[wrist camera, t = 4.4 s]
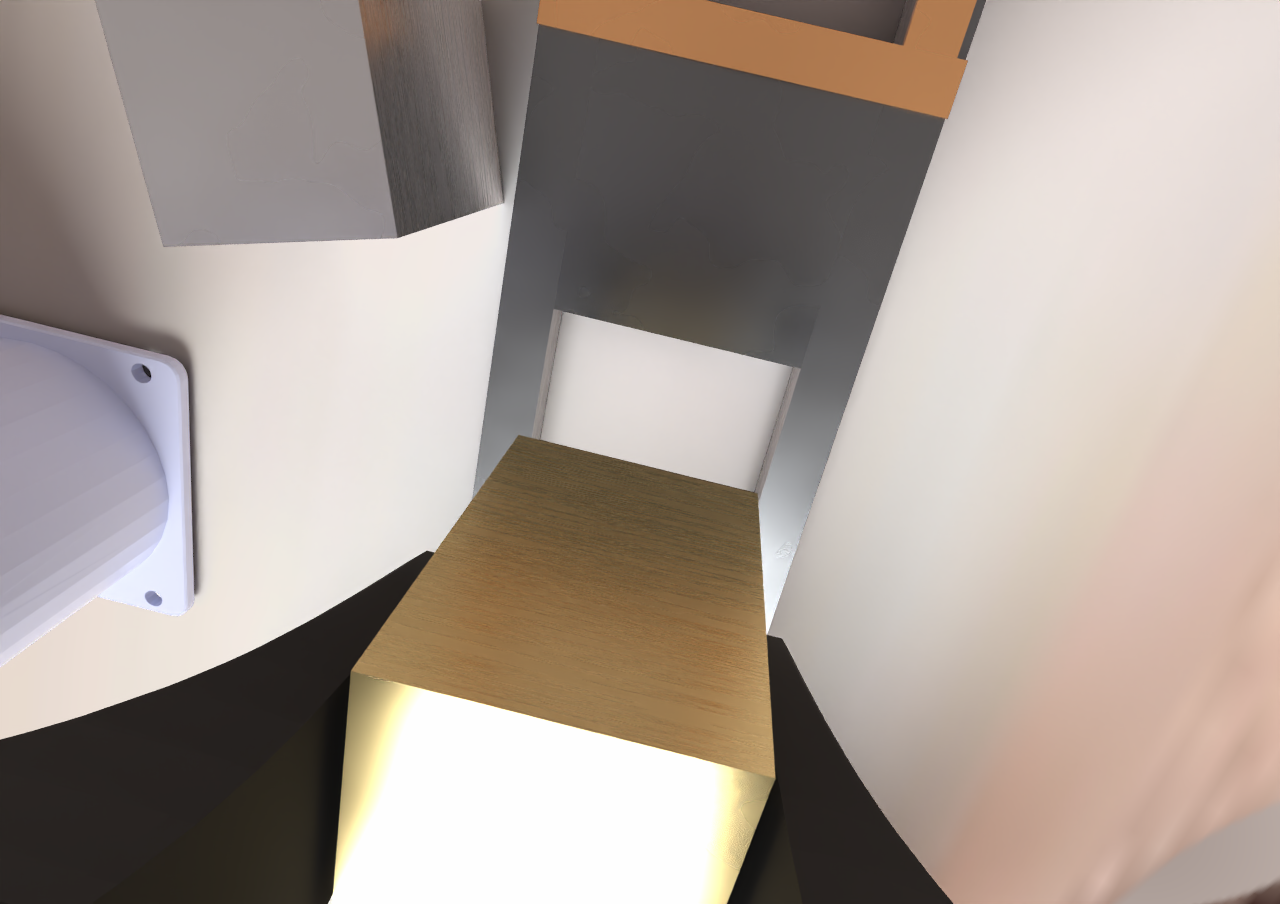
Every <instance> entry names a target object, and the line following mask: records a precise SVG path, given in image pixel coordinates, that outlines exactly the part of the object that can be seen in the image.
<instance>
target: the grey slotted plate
mask: <svg viewBox="0 0 1280 904" xmlns="http://www.w3.org/2000/svg"><path fill="white" fill-rule="evenodd" d="M985 2H986V0H906V2H905V6H904V9H903V12H902V15H901V19H900V22H899V25H898V28H897V32H896V35H895V38H894V41H893V43H889V42H885V41H881V40H876V39H872V38H868V37H863V36H859V35H855V34H850V33H846V32H842V31H837V30H833V29H829V28H824V27H820V26H816V25H811V24H807V23H803V22H798V21H794V20H790V19H785V18H781V17H777V16H772V15H768V14H764V13H759V12H755V11H750V10H746V9H742V8H737V7H733V6H729V5H724V4H720V3H716V2H711V1H707V0H540V3H539V10H538V17H537V24H539V29H538V36H537V43H536V50H535V58H534V65H533V72H532V79H531V86H530V93H529V100H528V107H527V114H526V122H525V129H524V136H523V143H522V150H521V157H520V164H519V171H518V179H517V186H516V193H515V200H514V207H513V214H512V221H511V228H510V235H509V243H508V250H507V257H506V264H505V271H504V278H503V285H502V292H501V300H500V307H499V314H498V321H497V328H496V335H495V342H494V349H493V356H492V364H491V371H490V378H489V385H488V392H487V399H486V406H485V413H484V421H483V428H482V435H481V442H480V449H479V456H478V463H477V470H476V477H475V485H474V492H473V498H474V497H475V495H476V494H477V493H478V491H479V490H480V488H481V487H482V486H483V484H484V483H485V481H486V480H487V478H488V477H489V476H490V474H491V473H492V471H493V470H494V469H495V467H496V466H497V464H498V463H499V462H500V460H501V459H502V457H503V456H504V455H505V453H506V452H507V450H508V449H509V447H510V446H511V445H512V443H513V442H514V440H515V439H516V438H517V436H518V435H522V436H526V437H530V438H534V439H538V440H540V436H541V431H542V425H543V419H544V413H545V408H546V402H547V396H548V391H549V385H550V379H551V373H552V368H553V362H554V356H555V350H556V345H557V339H558V333H559V328H560V322H561V316H562V311H564V312H569V313H573V314H577V315H581V316H585V317H589V318H593V319H597V320H602V321H606V322H610V323H614V324H618V325H622V326H626V327H631V328H635V329H639V330H643V331H647V332H651V333H655V334H660V335H664V336H668V337H672V338H676V339H680V340H684V341H689V342H693V343H697V344H701V345H705V346H709V347H713V348H718V349H722V350H726V351H730V352H734V353H738V354H742V355H746V356H751V357H755V358H759V359H763V360H767V361H771V362H775V363H780V364H784V365H788V366H792V367H793V369H792V372H791V375H790V379H789V382H788V385H787V388H786V392H785V395H784V398H783V401H782V405H781V408H780V411H779V414H778V418H777V421H776V424H775V427H774V431H773V434H772V437H771V440H770V444H769V447H768V450H767V453H766V457H765V460H764V463H763V466H762V470H761V473H760V476H759V479H758V482H757V486H756V489H755V492H754V493H758V505H759V521H760V538H761V554H762V570H763V586H764V603H765V619H766V635H767V633H768V631H769V628H770V625H771V622H772V619H773V616H774V613H775V610H776V607H777V604H778V602H779V599H780V596H781V593H782V590H783V587H784V584H785V581H786V578H787V575H788V573H789V570H790V567H791V564H792V561H793V558H794V555H795V552H796V549H797V547H798V544H799V541H800V538H801V535H802V532H803V529H804V526H805V523H806V520H807V518H808V515H809V512H810V509H811V506H812V503H813V500H814V497H815V494H816V491H817V489H818V486H819V483H820V480H821V477H822V474H823V471H824V468H825V465H826V462H827V460H828V457H829V454H830V451H831V448H832V445H833V442H834V439H835V436H836V434H837V431H838V428H839V425H840V422H841V419H842V416H843V413H844V410H845V407H846V405H847V402H848V399H849V396H850V393H851V390H852V387H853V384H854V381H855V378H856V376H857V373H858V370H859V367H860V364H861V361H862V358H863V355H864V352H865V350H866V347H867V344H868V341H869V338H870V335H871V332H872V329H873V326H874V323H875V321H876V318H877V315H878V312H879V309H880V306H881V303H882V300H883V297H884V294H885V292H886V289H887V286H888V283H889V280H890V277H891V274H892V271H893V268H894V265H895V263H896V260H897V257H898V254H899V251H900V248H901V245H902V242H903V239H904V237H905V234H906V231H907V228H908V225H909V222H910V219H911V216H912V213H913V210H914V208H915V205H916V202H917V199H918V196H919V193H920V190H921V187H922V184H923V181H924V179H925V176H926V173H927V170H928V167H929V164H930V161H931V158H932V155H933V153H934V150H935V147H936V144H937V141H938V138H939V135H940V132H941V129H942V126H943V124H944V121H945V119H948V116H949V114H950V111H951V108H952V105H953V102H954V99H955V96H956V93H957V90H958V88H959V85H960V82H961V79H962V76H963V73H964V70H965V67H966V65H967V62H968V61H967V60H966V57H967V54H968V51H969V48H970V45H971V42H972V40H973V37H974V34H975V31H976V28H977V25H978V22H979V19H980V16H981V13H982V11H983V8H984V5H985ZM472 500H473V499H472Z"/></svg>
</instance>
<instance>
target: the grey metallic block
mask: <svg viewBox="0 0 1280 904" xmlns="http://www.w3.org/2000/svg"><path fill="white" fill-rule="evenodd" d="M95 2H96V6H97V10H98V13H99V17H100V20H101V24H102V28H103V31H104V35H105V38H106V42H107V45H108V49H109V53H110V56H111V60H112V63H113V67H114V71H115V74H116V78H117V81H118V85H119V89H120V92H121V96H122V99H123V103H124V107H125V110H126V114H127V117H128V121H129V125H130V128H131V132H132V135H133V139H134V143H135V146H136V150H137V153H138V157H139V161H140V164H141V168H142V171H143V175H144V179H145V182H146V186H147V189H148V193H149V197H150V200H151V204H152V207H153V211H154V215H155V218H156V222H157V225H158V229H159V232H160V236H161V240H162V243H163V247H169V246H196V245H223V244H250V243H277V242H305V241H332V240H359V239H386V238H399V237H402V236H405V235H408V234H411V233H414V232H417V231H420V230H423V229H426V228H429V227H432V226H435V225H439V224H442V223H445V222H448V221H451V220H454V219H457V218H460V217H463V216H466V215H469V214H472V213H475V212H478V211H481V210H484V209H487V208H490V207H493V206H496V205H499V204H502V203H504V201H503V192H502V183H501V174H500V165H499V156H498V147H497V138H496V129H495V120H494V111H493V102H492V93H491V84H490V75H489V66H488V57H487V48H486V39H485V30H484V21H483V12H482V3H481V1H480V0H95Z"/></svg>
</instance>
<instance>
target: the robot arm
mask: <svg viewBox="0 0 1280 904" xmlns="http://www.w3.org/2000/svg"><path fill="white" fill-rule="evenodd" d="M142 365H145V366H146V367H147V368H148V369H149V370H150V373H151V378H150V377H148V376H147V375H146V374H145V372H144V370H143V367H142ZM433 555H434V552H430V551H426V552H424V553H422V554H420V555H419V556H417V557H415V558H414V559H412V560H410V561H409V562H407V563H405V564H404V565H402V566H400V567H399V568H397V569H396V570H394V571H392V572H391V573H389V574H388V575H386V576H384V577H383V578H381V579H380V580H378V581H376V582H375V583H373V584H371V585H370V586H368V587H367V588H365V589H363V590H362V591H360V592H358V593H357V594H355V595H353V596H352V597H350V598H348V599H346V600H345V601H343V602H341V603H340V604H338V605H336V606H334V607H333V608H331V609H329V610H328V611H326V612H324V613H322V614H321V615H319V616H317V617H316V618H314V619H312V620H310V621H308V622H307V623H305V624H303V625H301V626H299V627H297V628H295V629H293V630H291V631H289V632H287V633H285V634H284V635H282V636H280V637H278V638H276V639H274V640H272V641H270V642H268V643H266V644H264V645H262V646H260V647H258V648H256V649H254V650H252V651H250V652H248V653H246V654H244V655H241V656H239V657H237V658H235V659H232V660H230V661H228V662H226V663H224V664H221V665H219V666H216V667H214V668H212V669H209V670H207V671H204V672H202V673H200V674H197V675H195V676H192V677H190V678H188V679H185V680H183V681H180V682H178V683H175V684H173V685H170V686H167V687H165V688H162V689H159V690H156V691H153V692H150V693H148V694H145V695H142V696H139V697H136V698H133V699H130V700H127V701H125V702H122V703H119V704H116V705H113V706H110V707H107V708H104V709H102V710H99V711H96V712H93V713H90V714H87V715H84V716H81V717H78V718H75V719H71V720H68V721H65V722H61V723H58V724H54V725H51V726H48V727H44V728H41V729H37V730H34V731H31V732H27V733H24V734H20V735H16V736H12V737H9V738H5V739H1V740H0V904H328V902H329V900H330V898H331V896H332V894H333V889H334V876H335V864H336V851H337V839H338V826H339V814H340V801H341V789H342V776H343V764H344V751H345V739H346V726H347V713H348V701H349V688H350V676H351V670H352V669H353V667H354V666H355V664H356V663H357V662H358V660H359V659H360V657H361V656H362V655H363V653H364V652H365V650H366V649H367V647H368V646H369V645H370V643H371V642H372V640H373V639H374V638H375V636H376V635H377V633H378V632H379V631H380V629H381V628H382V626H383V625H384V624H385V622H386V621H387V619H388V618H389V617H390V615H391V614H392V612H393V611H394V609H395V608H396V607H397V605H398V604H399V602H400V601H401V600H402V598H403V597H404V595H405V594H406V593H407V591H408V590H409V588H410V587H411V586H412V584H413V583H414V581H415V580H416V578H417V577H418V576H419V574H420V573H421V571H422V570H423V569H424V567H425V566H426V564H427V563H428V562H429V560H430V559H431V557H432V556H433ZM155 592H156V593H158V594H159V595H160V596H161V597H159V596H158V595H157V594H156V593H155ZM96 597H100V598H104V599H108V600H112V601H116V602H120V603H124V604H128V605H132V606H136V607H140V608H144V609H148V610H152V611H155V612H159V613H163V614H167V615H171V616H180V615H183V614H184V613H185V612H187V611H188V610H189V609H190V608H191V607H192V606H193V604H194V574H193V538H192V502H191V466H190V431H189V395H188V376H187V372H186V370H185V368H184V367H183V365H182V364H181V363H180V362H179V361H178V360H177V359H175V358H173V357H170V356H168V355H164V354H160V353H156V352H151V351H147V350H143V349H139V348H135V347H131V346H127V345H123V344H119V343H115V342H111V341H107V340H103V339H99V338H95V337H91V336H86V335H82V334H78V333H74V332H70V331H66V330H62V329H58V328H54V327H50V326H46V325H42V324H38V323H34V322H30V321H26V320H21V319H17V318H13V317H9V316H5V315H1V314H0V667H2V666H3V665H4V664H6V663H7V662H8V661H10V660H11V659H13V658H14V657H15V656H17V655H18V654H19V653H21V652H22V651H23V650H25V649H26V648H28V647H29V646H30V645H32V644H33V643H34V642H36V641H37V640H38V639H40V638H41V637H43V636H44V635H45V634H47V633H48V632H49V631H51V630H52V629H53V628H55V627H56V626H58V625H59V624H60V623H62V622H63V621H64V620H66V619H67V618H68V617H70V616H71V615H73V614H74V613H75V612H77V611H78V610H79V609H81V608H82V607H83V606H85V605H86V604H88V603H89V602H90V601H92V600H93V599H94V598H96ZM767 651H768V668H769V684H770V700H771V716H772V733H773V749H774V765H775V781H774V783H773V786H772V788H771V791H770V793H769V796H768V799H767V801H766V804H765V806H764V809H763V812H762V814H761V817H760V819H759V822H758V824H757V827H756V830H755V832H754V835H753V837H752V840H751V843H750V845H749V848H748V850H747V853H746V856H745V858H744V861H743V863H742V866H741V868H740V871H739V874H738V876H737V879H736V881H735V884H734V887H733V889H732V892H731V894H730V897H729V899H728V902H727V904H953V903H952V901H951V900H950V899H949V898H948V897H947V895H946V894H945V893H944V892H943V891H942V889H941V888H940V887H939V886H938V885H937V883H936V882H935V881H934V880H933V879H932V877H931V876H930V875H929V874H928V872H927V871H926V870H925V868H924V867H923V866H922V865H921V863H920V862H919V861H918V859H917V858H916V857H915V855H914V854H913V853H912V852H911V850H910V849H909V848H908V846H907V845H906V844H905V843H904V841H903V840H902V839H901V837H900V836H899V835H898V834H897V832H896V831H895V829H894V828H893V827H892V825H891V824H890V822H889V821H888V820H887V818H886V817H885V816H884V814H883V813H882V811H881V810H880V808H879V807H878V805H877V804H876V802H875V801H874V799H873V798H872V796H871V795H870V793H869V792H868V790H867V789H866V787H865V786H864V784H863V783H862V781H861V780H860V778H859V777H858V775H857V773H856V772H855V770H854V769H853V767H852V765H851V764H850V762H849V761H848V759H847V757H846V755H845V754H844V752H843V750H842V749H841V747H840V745H839V743H838V742H837V740H836V738H835V737H834V735H833V733H832V731H831V730H830V728H829V726H828V725H827V723H826V721H825V719H824V717H823V715H822V714H821V712H820V710H819V708H818V706H817V704H816V703H815V701H814V699H813V697H812V695H811V693H810V691H809V689H808V687H807V686H806V684H805V682H804V680H803V678H802V676H801V674H800V672H799V670H798V668H797V666H796V664H795V662H794V660H793V658H792V656H791V654H790V652H789V650H788V648H787V647H786V645H785V643H784V641H783V640H782V639H781V638H777V637H773V636H769V635H767Z"/></svg>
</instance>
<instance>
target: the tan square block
mask: <svg viewBox="0 0 1280 904" xmlns="http://www.w3.org/2000/svg"><path fill="white" fill-rule="evenodd" d="M774 781H775V765H774V749H773V733H772V716H771V700H770V684H769V668H768V651H767V635H766V619H765V603H764V586H763V570H762V554H761V538H760V521H759V505H758V493H754V492H750V491H746V490H742V489H738V488H734V487H730V486H726V485H722V484H717V483H713V482H709V481H705V480H701V479H697V478H693V477H689V476H685V475H681V474H677V473H673V472H669V471H665V470H661V469H656V468H652V467H648V466H644V465H640V464H636V463H632V462H628V461H624V460H620V459H616V458H612V457H608V456H604V455H599V454H595V453H591V452H587V451H583V450H579V449H575V448H571V447H567V446H563V445H559V444H555V443H551V442H547V441H543V440H538V439H534V438H530V437H526V436H522V435H518V436H517V438H516V439H515V440H514V442H513V443H512V445H511V446H510V447H509V449H508V450H507V452H506V453H505V455H504V456H503V457H502V459H501V460H500V462H499V463H498V464H497V466H496V467H495V469H494V470H493V471H492V473H491V474H490V476H489V477H488V478H487V480H486V481H485V483H484V484H483V486H482V487H481V488H480V490H479V491H478V493H477V494H476V495H475V497H474V498H473V500H472V501H471V502H470V504H469V505H468V507H467V508H466V509H465V511H464V512H463V514H462V515H461V516H460V518H459V519H458V521H457V522H456V524H455V525H454V526H453V528H452V529H451V531H450V532H449V533H448V535H447V536H446V538H445V539H444V540H443V542H442V543H441V545H440V546H439V547H438V549H437V550H436V552H435V553H434V555H433V556H432V557H431V559H430V560H429V562H428V563H427V564H426V566H425V567H424V569H423V570H422V571H421V573H420V574H419V576H418V577H417V578H416V580H415V581H414V583H413V584H412V586H411V587H410V588H409V590H408V591H407V593H406V594H405V595H404V597H403V598H402V600H401V601H400V602H399V604H398V605H397V607H396V608H395V609H394V611H393V612H392V614H391V615H390V617H389V618H388V619H387V621H386V622H385V624H384V625H383V626H382V628H381V629H380V631H379V632H378V633H377V635H376V636H375V638H374V639H373V640H372V642H371V643H370V645H369V646H368V647H367V649H366V650H365V652H364V653H363V655H362V656H361V657H360V659H359V660H358V662H357V663H356V664H355V666H354V667H353V669H352V670H351V676H350V688H349V701H348V713H347V726H346V739H345V751H344V764H343V776H342V789H341V801H340V814H339V826H338V839H337V851H336V864H335V876H334V889H333V902H332V904H727V902H728V899H729V897H730V894H731V892H732V889H733V887H734V884H735V881H736V879H737V876H738V874H739V871H740V868H741V866H742V863H743V861H744V858H745V856H746V853H747V850H748V848H749V845H750V843H751V840H752V837H753V835H754V832H755V830H756V827H757V824H758V822H759V819H760V817H761V814H762V812H763V809H764V806H765V804H766V801H767V799H768V796H769V793H770V791H771V788H772V786H773V783H774Z"/></svg>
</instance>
